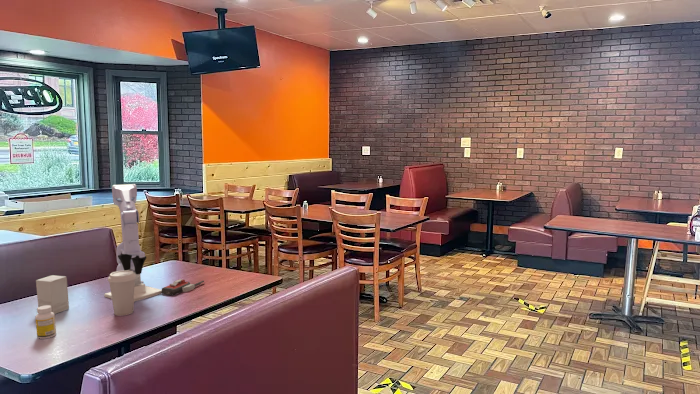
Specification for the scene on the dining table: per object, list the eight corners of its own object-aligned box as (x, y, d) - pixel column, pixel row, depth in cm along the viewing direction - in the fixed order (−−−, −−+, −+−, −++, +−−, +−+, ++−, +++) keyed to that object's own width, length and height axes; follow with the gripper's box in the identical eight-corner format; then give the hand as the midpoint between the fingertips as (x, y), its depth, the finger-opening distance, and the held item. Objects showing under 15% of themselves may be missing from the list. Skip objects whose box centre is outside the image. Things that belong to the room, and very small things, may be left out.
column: (126, 286, 209) (125, 270, 208) (135, 283, 213) (134, 268, 212) (132, 287, 207) (131, 271, 206) (140, 285, 210) (140, 269, 210)
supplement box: (69, 308, 194) (67, 276, 192) (52, 315, 187) (50, 281, 185) (55, 306, 196) (52, 274, 195) (37, 313, 189) (35, 279, 188)
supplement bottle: (42, 333, 170) (40, 304, 169) (59, 332, 170) (57, 304, 169) (33, 339, 164) (31, 310, 163) (51, 339, 165) (49, 309, 164)
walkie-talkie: (176, 298, 207) (205, 284, 226) (175, 287, 207) (205, 274, 226) (158, 295, 210) (189, 282, 229) (158, 285, 210) (188, 273, 229)
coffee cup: (110, 318, 183) (107, 278, 181) (109, 310, 191) (106, 271, 189) (139, 314, 187) (136, 274, 185) (136, 306, 196) (134, 268, 194)
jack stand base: (104, 296, 208) (103, 286, 208) (139, 286, 221) (139, 276, 221) (128, 303, 199) (127, 292, 199) (163, 293, 213) (162, 282, 212)
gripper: (111, 239, 208) (113, 272, 210) (133, 243, 200) (134, 277, 202) (127, 236, 214) (129, 268, 216) (148, 240, 206) (150, 273, 208)
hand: (132, 272), depth 209 cm, fingers open, 7 cm apart
